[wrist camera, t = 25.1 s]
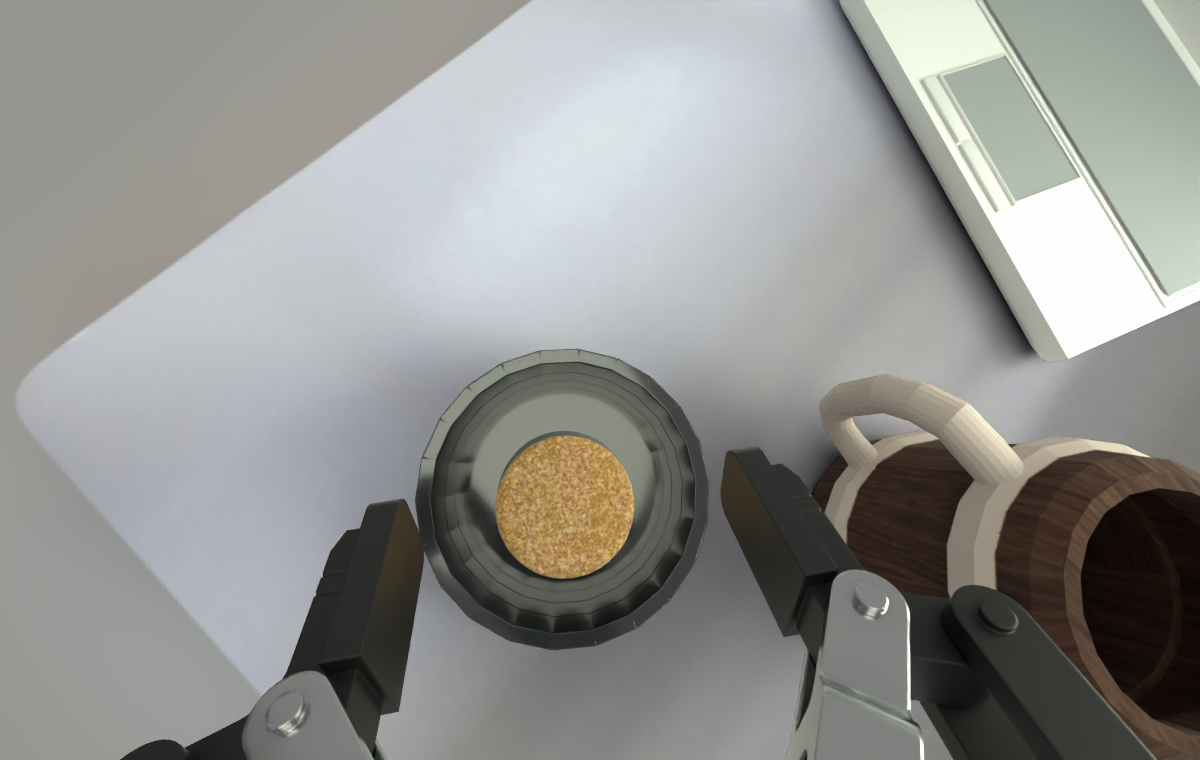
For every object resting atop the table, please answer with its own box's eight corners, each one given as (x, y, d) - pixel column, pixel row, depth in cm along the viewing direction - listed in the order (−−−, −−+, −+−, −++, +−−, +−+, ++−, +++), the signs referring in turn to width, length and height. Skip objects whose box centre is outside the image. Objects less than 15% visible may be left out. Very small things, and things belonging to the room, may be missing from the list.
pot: (511, 664, 29) (498, 714, 23) (403, 436, 31) (366, 428, 25) (724, 536, 31) (761, 551, 25) (611, 332, 33) (622, 303, 27)
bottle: (603, 439, 31) (641, 412, 17) (611, 530, 30) (660, 587, 16) (515, 447, 31) (473, 425, 16) (520, 540, 30) (481, 608, 15)
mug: (1047, 562, 33) (1444, 637, 18) (902, 718, 30) (1231, 957, 15) (856, 341, 35) (1073, 245, 20) (704, 468, 32) (826, 466, 17)
